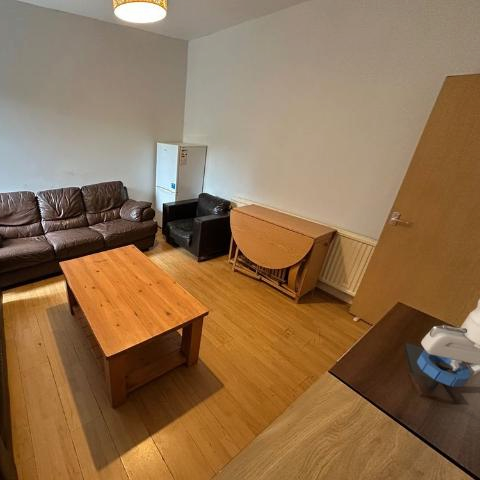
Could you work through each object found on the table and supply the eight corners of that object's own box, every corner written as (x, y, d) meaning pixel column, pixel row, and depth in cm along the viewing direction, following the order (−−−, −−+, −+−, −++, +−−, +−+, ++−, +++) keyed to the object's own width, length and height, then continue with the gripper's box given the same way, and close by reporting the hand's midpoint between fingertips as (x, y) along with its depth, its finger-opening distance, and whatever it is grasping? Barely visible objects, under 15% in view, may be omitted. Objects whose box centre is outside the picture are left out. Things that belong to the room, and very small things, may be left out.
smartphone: (432, 350, 86) (444, 384, 75) (430, 352, 86) (443, 386, 75) (403, 340, 90) (411, 372, 78) (402, 342, 90) (410, 374, 79)
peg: (436, 382, 76) (453, 357, 72) (451, 404, 70) (471, 379, 66) (407, 375, 78) (422, 351, 74) (419, 396, 72) (436, 371, 68)
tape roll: (450, 361, 74) (455, 354, 72) (473, 391, 65) (479, 384, 64) (410, 353, 76) (415, 345, 75) (428, 380, 68) (433, 373, 67)
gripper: (443, 332, 63) (419, 369, 69) (559, 354, 57) (522, 393, 63) (428, 315, 69) (407, 351, 75) (534, 334, 63) (501, 372, 69)
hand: (461, 371), depth 69 cm, fingers closed on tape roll
